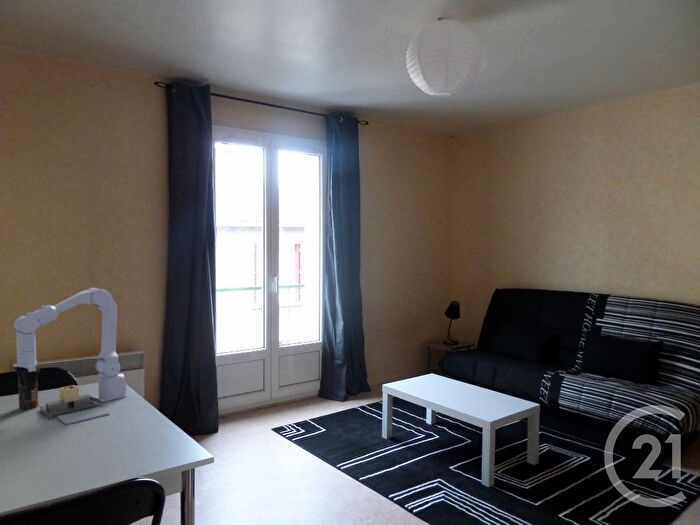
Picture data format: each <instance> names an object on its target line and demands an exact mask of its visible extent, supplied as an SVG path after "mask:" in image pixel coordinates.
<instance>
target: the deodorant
mask: <svg viewBox="0 0 700 525" xmlns="http://www.w3.org/2000/svg"><path fill="white" fill-rule="evenodd" d="M36 370H38V367H37V366H36ZM17 382H18V385H17V386H18V388H17V390H18V409H20V410H19V411H29V410H28V409H31V410H34V409H33V408H35V409H37V408H38V407H39V398H38V397H39V395H38V394H39V393H38V391H39V390H38V379H37V380H36V385H35V389H34V390H31V391H27V389H26V386H23V387H22V386H21V384H20V380H19V377H18V376H17ZM37 406H38V407H37ZM36 407H37V408H36Z"/></svg>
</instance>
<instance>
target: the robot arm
mask: <svg viewBox="0 0 700 525" xmlns="http://www.w3.org/2000/svg"><path fill="white" fill-rule="evenodd" d="M79 305H92V306H95V307H96V308H97V309H99V310H100V311H101V312H102V319H101V338H100V339H101V340H100V341H101V343H100V352H99V353H98V359H97V361H96V362H95V369H96V371H97V372H98V374H97V387H98V395H95V396H94V398H95V399H96V400H98V401H100V402H101V403H104V402H109V401H112V400H117V399H121V398H126V397H127V396H128V395H127V392H126V391H127V390H126V389H127V384H126V383H127V382H126V377H125V375H124V373H120V371H121V364H120V362H119V355H118V354H117V352H116V350H117V327H118V326H117V325H118V305H117V303H116V302H115V300H114V298H113V297H112V293H111V292H109V291H108V290H106V289H104V288H96V287H89V288H88V289H85V290H82V291H79V292H78V293H75V294H74V295H72V296H71V297H68V298H66V299H64V300H62V301H61V302H58V303H57V304H55V305H52V304H51V305H50V304H47V305H45V304H42V305H41V306H40V308H39V309H37V310H34V311H33V312H31V311H30V312H27V313H26V315H22V316H19V317H18V318H16V320H15V321H14V324H12V325H13V328H14V330H15V331H16V332H15V335H16V337H15V339H16V340H15V343H16V363H13V365H12V367H14V368H13V369H14V370H15V372H16V374H17V378H18V377H19V380H20V384H21V386H22V387H23V386H26V389H27V391H31V390H34V389H35V385H36V380H37V381H38V376H39V374H41V370H40V369H37V370H36V367H37V364H38V361H37V341H36V337H37V336H36V330H37V329H38V328H40V327H43V326H44V325H46V324H49V323H50V322H52V321H54V320H55V319H56V320H57V318H58V316H59V314H61V313H63V312H65V311H68V310H70V309H72V308H74V307H77V306H79Z"/></svg>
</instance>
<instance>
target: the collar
mask: <svg viewBox="0 0 700 525" xmlns="http://www.w3.org/2000/svg"><path fill="white" fill-rule="evenodd" d="M69 388H71V389H69ZM79 389H80V388H79V386H76V385H75V384H73V385H68V386H63V387H59V389H58V390H59V392H58V393H59V394H58V395H59V400H60V401H62V402H63V403H66V402H71V401H75V400H79V396H80V395H79V394H80V393H79V391H80V390H79Z"/></svg>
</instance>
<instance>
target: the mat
mask: <svg viewBox="0 0 700 525" xmlns="http://www.w3.org/2000/svg"><path fill="white" fill-rule="evenodd" d="M106 416H110V412H109V411H107V410H106V409H104V408H102V407H101V406H98V407H95V408H91V409H87V410H82V411H78V412H74V413H70V414H65V415H61V416H57V417H56V418H57V419H58V420H59V421H60V422H61V423H63V425H65V426H69V425H73V424H77V423H80V422H81V423H82V422H85V421H91V420H93V419H97V418H102V417H106Z"/></svg>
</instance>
